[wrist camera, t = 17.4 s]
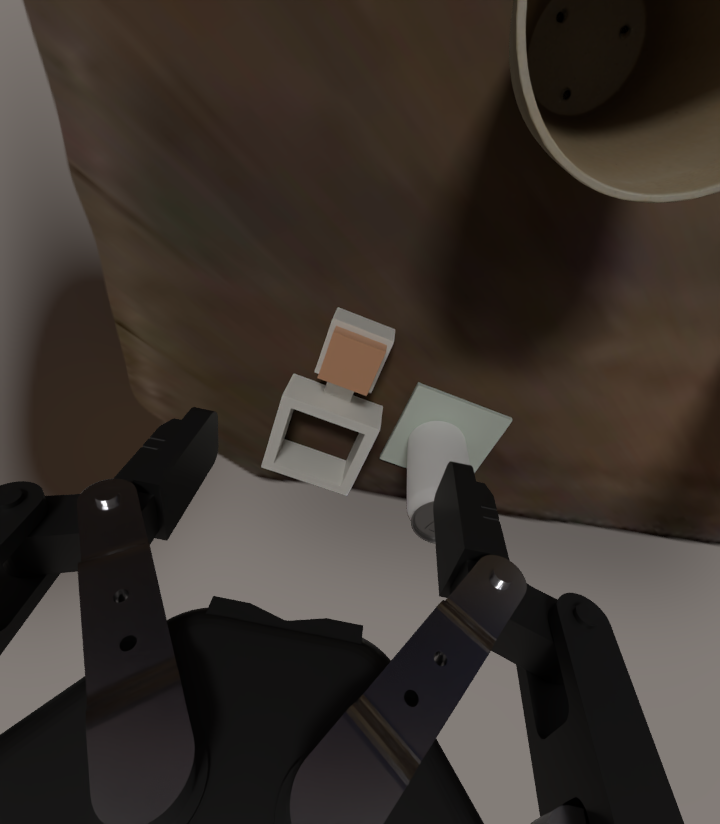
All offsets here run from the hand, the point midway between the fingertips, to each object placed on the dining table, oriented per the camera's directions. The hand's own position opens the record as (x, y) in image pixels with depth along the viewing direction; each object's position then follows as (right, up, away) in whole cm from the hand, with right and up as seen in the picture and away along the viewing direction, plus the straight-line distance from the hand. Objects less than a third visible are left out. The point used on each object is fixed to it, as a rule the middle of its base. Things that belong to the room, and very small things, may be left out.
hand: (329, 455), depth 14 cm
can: (+10, -2, +32) cm, 33 cm away
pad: (+11, -1, +32) cm, 34 cm away
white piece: (-1, +4, +30) cm, 30 cm away
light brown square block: (+1, +8, +27) cm, 28 cm away
